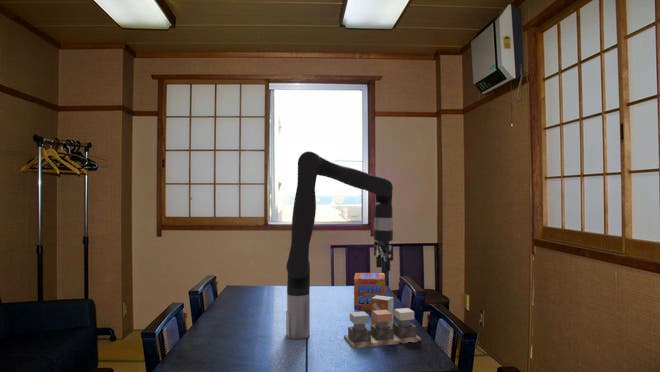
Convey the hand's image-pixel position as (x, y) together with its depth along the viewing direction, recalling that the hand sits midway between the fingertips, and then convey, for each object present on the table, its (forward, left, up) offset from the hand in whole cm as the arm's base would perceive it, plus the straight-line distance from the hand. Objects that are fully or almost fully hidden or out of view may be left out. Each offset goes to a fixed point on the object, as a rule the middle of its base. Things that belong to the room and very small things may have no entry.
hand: (383, 269), depth 185 cm
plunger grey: (-11, -2, -24) cm, 26 cm away
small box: (+5, +13, -28) cm, 31 cm away
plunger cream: (+8, -2, -24) cm, 25 cm away
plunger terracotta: (-1, -2, -24) cm, 24 cm away
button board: (-1, -2, -28) cm, 28 cm away
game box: (+12, +48, -28) cm, 57 cm away
